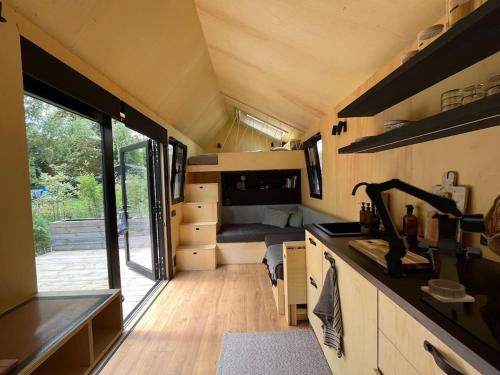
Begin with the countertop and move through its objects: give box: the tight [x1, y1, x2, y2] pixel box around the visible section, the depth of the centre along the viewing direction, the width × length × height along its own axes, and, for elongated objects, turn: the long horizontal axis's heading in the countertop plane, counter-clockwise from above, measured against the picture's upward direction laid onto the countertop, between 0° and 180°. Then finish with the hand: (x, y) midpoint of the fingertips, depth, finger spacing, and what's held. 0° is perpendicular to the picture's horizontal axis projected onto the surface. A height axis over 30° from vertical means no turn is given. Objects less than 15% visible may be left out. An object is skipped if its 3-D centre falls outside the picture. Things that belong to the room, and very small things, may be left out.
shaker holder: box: [420, 278, 475, 303], centre depth 84 cm, size 10×10×4 cm
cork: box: [438, 254, 460, 284], centre depth 93 cm, size 6×6×11 cm
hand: (448, 272), depth 93 cm, fingers open, 9 cm apart
